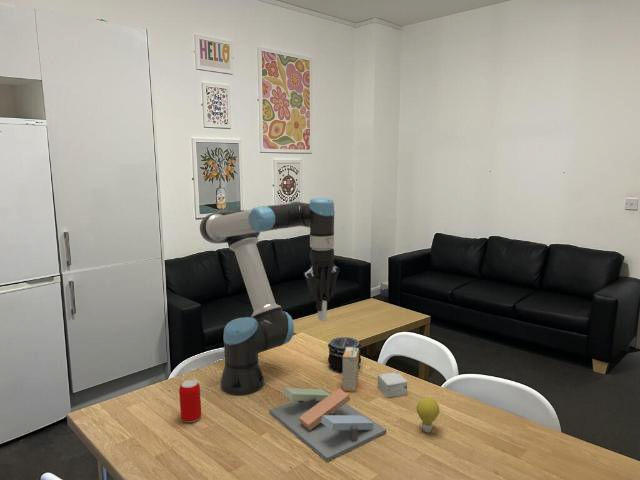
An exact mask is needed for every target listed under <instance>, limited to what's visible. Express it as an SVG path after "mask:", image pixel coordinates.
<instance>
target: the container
mask: <svg viewBox="0 0 640 480" xmlns="http://www.w3.org/2000/svg"><path fill="white" fill-rule="evenodd" d="M327 346H328V353H329V354H328V358H327V362H328V364H329V367H330V369H331V370H333V371H335V372H337V373H341V374H343V354H344V352H345V349H346V347H353V348H359V360H358V369H360V364H361V361H362V358H361V357H362V356H361V354H360V353H361V348H362V344H361V343H360V341H359V340H358V339H356V338H354V337H348V336H342V337H336V338H333V339H331V340H330V341H329V343H328V345H327Z"/></svg>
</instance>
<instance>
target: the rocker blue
mask: <svg viewBox="0 0 640 480" xmlns="http://www.w3.org/2000/svg"><path fill="white" fill-rule="evenodd" d="M321 423H322V424H324V425H325V426H326V427H328V428H329V429H330V430H350V431H352V427H355V426H357V427H358V430H372V427H373V424H374V423H373V422H371V421H370V420H368V419H367V418H365V417H364V416H359V415H323V416H322V420H321Z"/></svg>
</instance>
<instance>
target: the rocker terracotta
mask: <svg viewBox="0 0 640 480" xmlns="http://www.w3.org/2000/svg"><path fill="white" fill-rule="evenodd" d="M350 401H351V396H350V394H349V393H347V391H342V389H341V388H337V389H336V390H334V391H333V392H332V393H331V394H330V395H329V396H327V397H326V398H325V399H323V400H322V401H321V402H319V403H318V404H316V405H315V406H314V407H312V408H311V409H310V410H308V411H307V412H305V413H304V414H303V415H301V416H300V417H299V420H300V423H301V424H303V425H304V426H305V427H307V428H308V429H309V430H311V429H312V428H314V427H315V426H316V425H318V424H319V423H320V422H321V420H322V416H323V415H330V412H332V411H336V410H338V409H339V408H340V407H342V406H343V405H344V404H348V402H350Z"/></svg>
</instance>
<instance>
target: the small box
mask: <svg viewBox="0 0 640 480" xmlns="http://www.w3.org/2000/svg"><path fill="white" fill-rule="evenodd" d="M376 387H377V389H378V390H379V391H380V392H381V393H382V394H383V396H385V398H387V399H388V398H389V399H390V398H393V397H399V396H405V395H406V396H407V395H408V380H407V379H405V377H404V376H402V375H401V374H400V373H399V372H398V371H395V372H387V373H382V374H377V386H376Z"/></svg>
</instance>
